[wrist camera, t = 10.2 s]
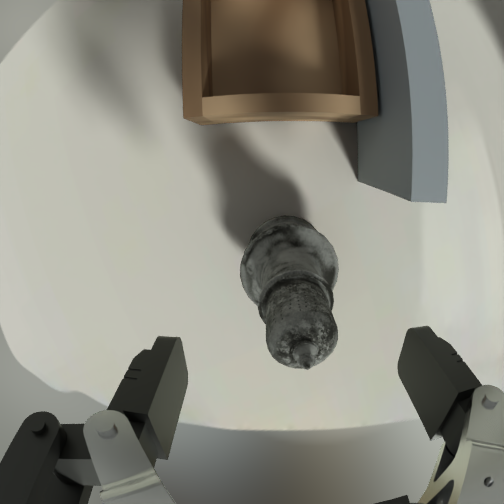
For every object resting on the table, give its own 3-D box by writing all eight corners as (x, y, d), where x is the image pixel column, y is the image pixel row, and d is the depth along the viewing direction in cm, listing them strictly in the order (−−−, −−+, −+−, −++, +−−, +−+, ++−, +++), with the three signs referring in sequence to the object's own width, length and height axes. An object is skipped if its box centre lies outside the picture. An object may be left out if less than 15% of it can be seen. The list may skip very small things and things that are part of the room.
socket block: (341, -3, 14) (357, -33, 10) (354, 122, 18) (378, 116, 13) (199, -1, 15) (184, -32, 11) (201, 125, 18) (183, 118, 14)
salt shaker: (231, 227, 20) (193, 323, 9) (314, 200, 20) (377, 267, 8) (259, 300, 22) (254, 431, 11) (335, 276, 21) (392, 394, 10)
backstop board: (361, -34, 13) (394, -88, 6) (384, 182, 19) (446, 203, 11) (337, -38, 13) (362, -97, 6) (357, 181, 19) (411, 201, 11)
